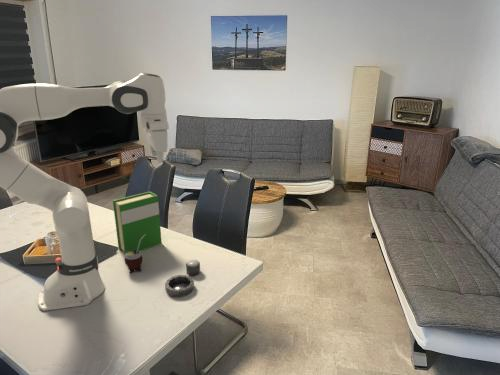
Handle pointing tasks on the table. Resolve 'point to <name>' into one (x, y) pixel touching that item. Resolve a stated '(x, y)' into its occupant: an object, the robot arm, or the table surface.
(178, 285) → the grey ashtray
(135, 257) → the mate gourd
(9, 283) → the table surface
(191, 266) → the cap
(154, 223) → the hardback book
